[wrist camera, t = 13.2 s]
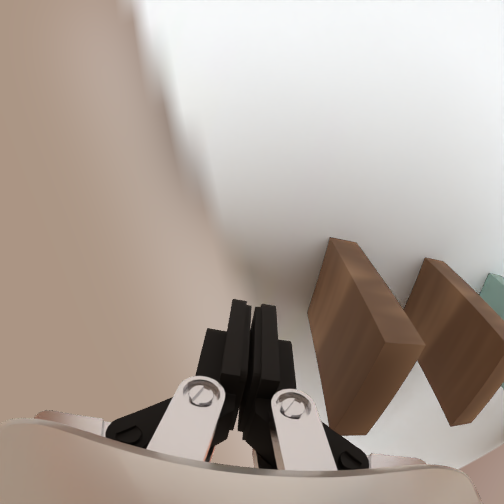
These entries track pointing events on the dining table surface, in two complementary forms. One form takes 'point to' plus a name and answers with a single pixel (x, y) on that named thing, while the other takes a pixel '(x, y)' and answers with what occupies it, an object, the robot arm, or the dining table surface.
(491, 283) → the domino
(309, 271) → the dining table surface
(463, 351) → the domino
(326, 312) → the domino
